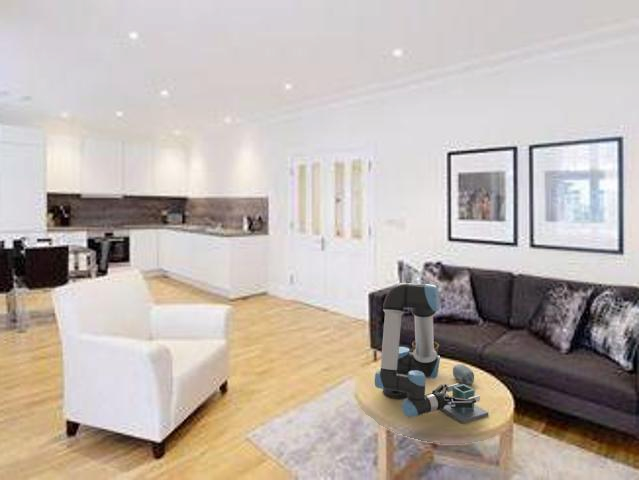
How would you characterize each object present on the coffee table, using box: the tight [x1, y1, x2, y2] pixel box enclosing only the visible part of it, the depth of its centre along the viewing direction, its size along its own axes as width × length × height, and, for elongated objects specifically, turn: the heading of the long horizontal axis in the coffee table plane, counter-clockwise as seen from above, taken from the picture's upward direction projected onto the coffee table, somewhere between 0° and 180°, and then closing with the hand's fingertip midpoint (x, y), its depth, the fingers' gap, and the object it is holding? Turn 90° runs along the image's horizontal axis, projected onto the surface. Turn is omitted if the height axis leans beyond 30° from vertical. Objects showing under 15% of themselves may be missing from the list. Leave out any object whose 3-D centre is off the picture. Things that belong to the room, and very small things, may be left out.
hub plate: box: [440, 403, 489, 424], centre depth 208 cm, size 16×16×9 cm
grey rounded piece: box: [452, 363, 475, 386], centre depth 241 cm, size 14×10×10 cm
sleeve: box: [451, 383, 476, 413], centre depth 207 cm, size 7×7×10 cm
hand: (468, 392), depth 209 cm, fingers open, 13 cm apart
